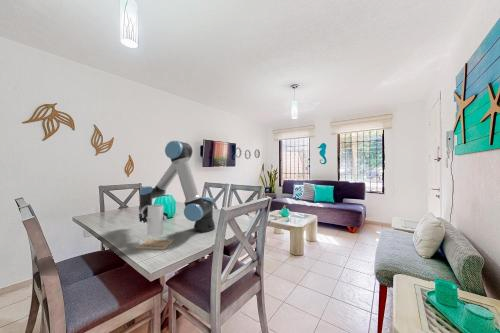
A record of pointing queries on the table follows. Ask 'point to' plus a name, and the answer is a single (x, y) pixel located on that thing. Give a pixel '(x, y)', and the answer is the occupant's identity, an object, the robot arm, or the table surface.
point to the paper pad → (155, 244)
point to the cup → (155, 220)
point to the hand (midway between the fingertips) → (157, 220)
